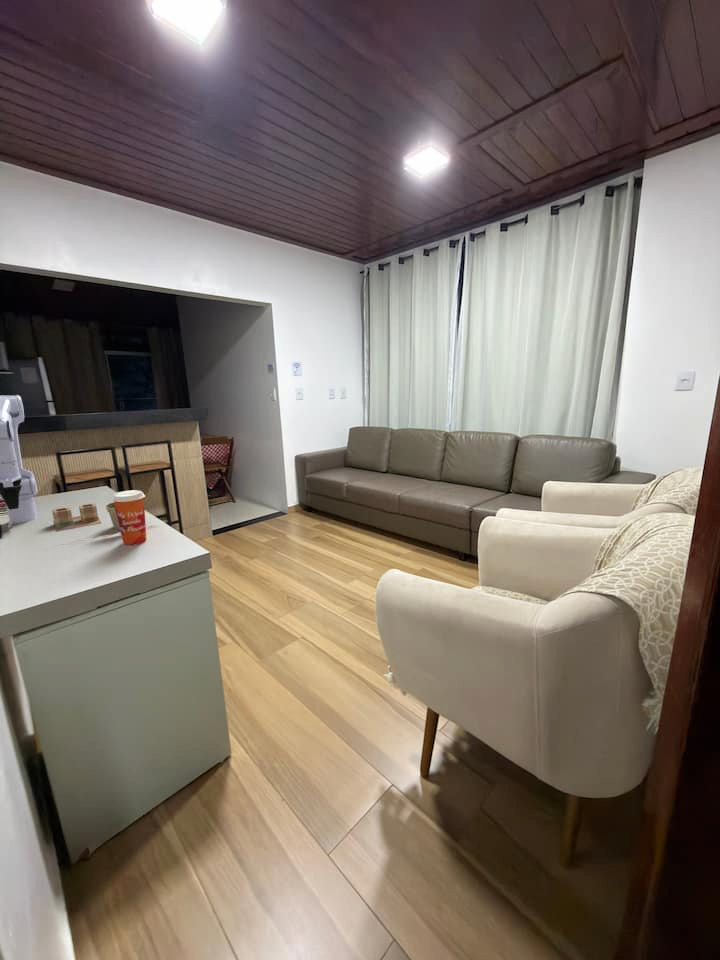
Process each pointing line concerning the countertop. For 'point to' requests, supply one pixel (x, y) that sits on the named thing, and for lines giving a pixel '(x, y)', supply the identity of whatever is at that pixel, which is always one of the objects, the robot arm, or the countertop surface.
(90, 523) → the pin board
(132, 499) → the coffee cup
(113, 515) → the flower pot
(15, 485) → the robot arm
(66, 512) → the sleeve
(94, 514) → the seated sleeve
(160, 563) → the countertop surface
